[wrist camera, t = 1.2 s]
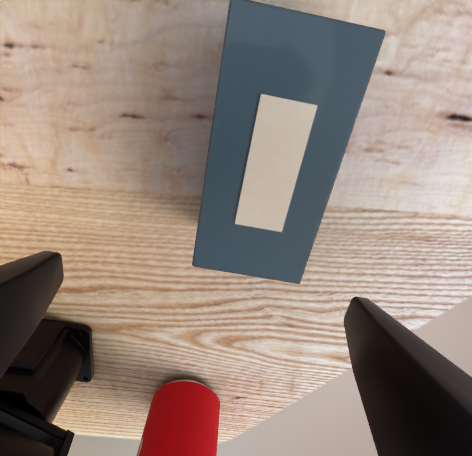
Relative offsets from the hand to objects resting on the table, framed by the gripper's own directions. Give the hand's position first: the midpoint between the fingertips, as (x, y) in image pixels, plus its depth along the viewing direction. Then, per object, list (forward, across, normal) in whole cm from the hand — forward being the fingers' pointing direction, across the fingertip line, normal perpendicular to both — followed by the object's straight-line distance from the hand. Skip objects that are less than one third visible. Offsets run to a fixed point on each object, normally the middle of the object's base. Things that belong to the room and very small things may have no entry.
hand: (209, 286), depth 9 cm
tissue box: (+11, -2, -2) cm, 12 cm away
